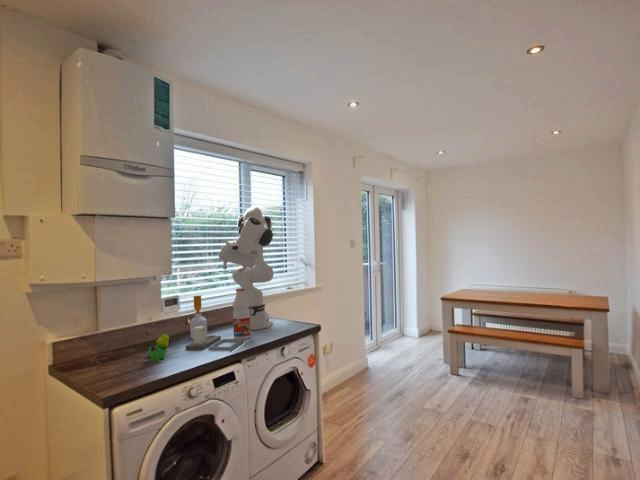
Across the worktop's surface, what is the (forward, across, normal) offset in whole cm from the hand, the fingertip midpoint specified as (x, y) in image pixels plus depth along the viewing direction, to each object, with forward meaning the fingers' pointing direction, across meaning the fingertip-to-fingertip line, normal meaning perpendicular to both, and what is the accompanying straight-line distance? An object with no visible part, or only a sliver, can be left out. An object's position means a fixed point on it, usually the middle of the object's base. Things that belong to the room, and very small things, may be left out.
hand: (232, 270), depth 194 cm
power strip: (+41, +1, +9) cm, 42 cm away
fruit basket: (+46, +24, +14) cm, 54 cm away
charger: (+40, +5, +11) cm, 42 cm away
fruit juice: (+34, -19, +9) cm, 40 cm away
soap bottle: (+48, -4, -9) cm, 49 cm away
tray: (+34, -5, +19) cm, 39 cm away
